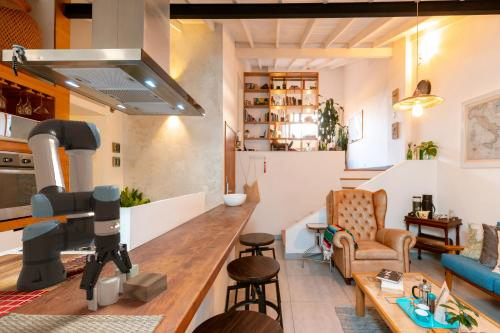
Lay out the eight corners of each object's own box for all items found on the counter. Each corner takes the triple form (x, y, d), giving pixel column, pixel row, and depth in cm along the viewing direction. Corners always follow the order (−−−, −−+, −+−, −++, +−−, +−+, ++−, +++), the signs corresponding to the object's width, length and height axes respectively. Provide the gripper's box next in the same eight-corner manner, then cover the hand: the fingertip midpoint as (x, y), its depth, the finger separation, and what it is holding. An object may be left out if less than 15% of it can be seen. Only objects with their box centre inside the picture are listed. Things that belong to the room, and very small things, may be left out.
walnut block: (123, 298, 87) (122, 282, 87) (144, 285, 97) (144, 271, 97) (147, 302, 84) (147, 286, 84) (167, 288, 93) (166, 274, 93)
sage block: (115, 286, 97) (114, 270, 97) (124, 279, 103) (123, 264, 103) (130, 286, 96) (130, 270, 96) (138, 280, 102) (138, 264, 102)
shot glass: (93, 308, 81) (93, 285, 81) (99, 298, 88) (99, 276, 88) (117, 304, 83) (117, 282, 83) (122, 294, 90) (121, 274, 90)
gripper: (82, 242, 74) (83, 322, 73) (142, 225, 96) (143, 286, 95) (63, 241, 76) (64, 317, 76) (126, 225, 98) (127, 284, 98)
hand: (108, 300), depth 85 cm, fingers open, 11 cm apart
